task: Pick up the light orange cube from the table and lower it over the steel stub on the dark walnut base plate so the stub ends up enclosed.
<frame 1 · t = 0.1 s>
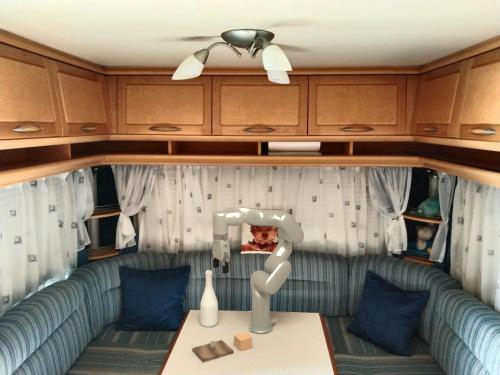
hand: (220, 270, 220), 37 cm above the table, tool pointing down, fingers open, 9 cm apart
wine bottle: (209, 324, 243), on the table
base plate: (212, 352, 214), on the table
light orange cube: (242, 346, 219), on the table
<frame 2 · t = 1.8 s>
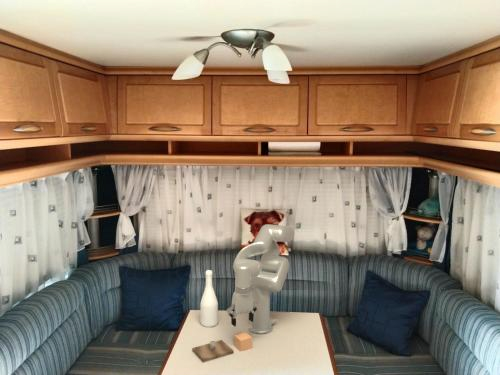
hand: (242, 323, 216), 13 cm above the table, tool pointing down, fingers open, 9 cm apart
nothing on the table moved.
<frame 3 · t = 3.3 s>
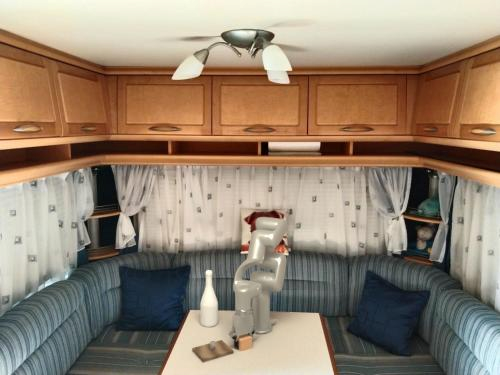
hand: (242, 345, 219), 1 cm above the table, tool pointing down, fingers closed on light orange cube, 6 cm apart
light orange cube: (242, 346, 219), on the table, touching gripper
everything else where it was.
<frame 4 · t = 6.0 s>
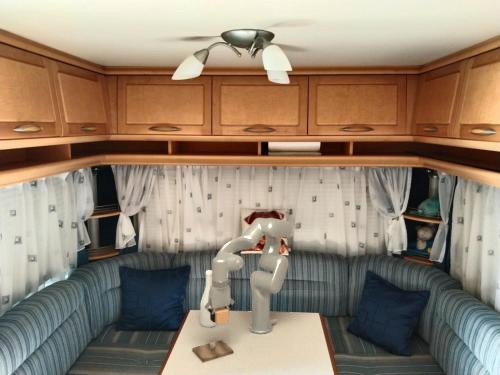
hand: (219, 319, 212), 16 cm above the table, tool pointing down, fingers closed on light orange cube, 6 cm apart
light orange cube: (219, 320, 212), point 16 cm above the table, touching gripper
everything else where it was.
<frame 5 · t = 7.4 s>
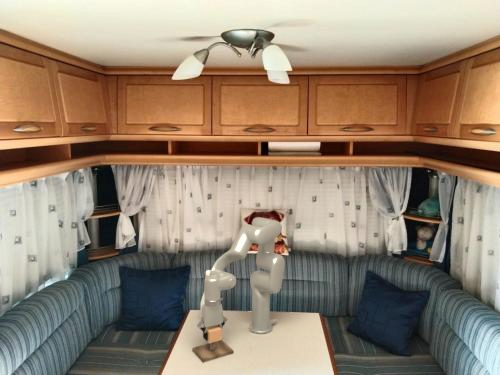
hand: (212, 337, 212), 8 cm above the table, tool pointing down, fingers closed on light orange cube, 6 cm apart
light orange cube: (212, 338, 212), point 7 cm above the table, touching gripper
everything else where it was.
when the fingers open (3 cm above the table, at t = 8.7 s): light orange cube drops 1 cm, resting on base plate.
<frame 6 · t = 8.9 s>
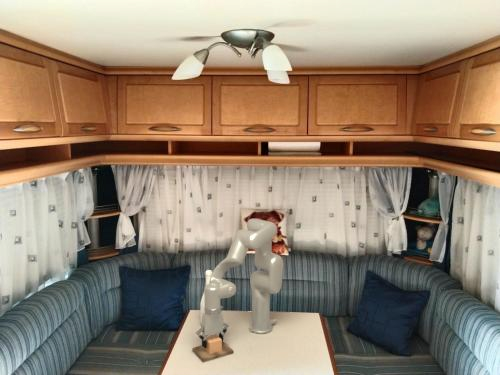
hand: (212, 344, 213), 4 cm above the table, tool pointing down, fingers open, 8 cm apart
light orange cube: (212, 349, 213), point 1 cm above the table, touching base plate
everything else where it was.
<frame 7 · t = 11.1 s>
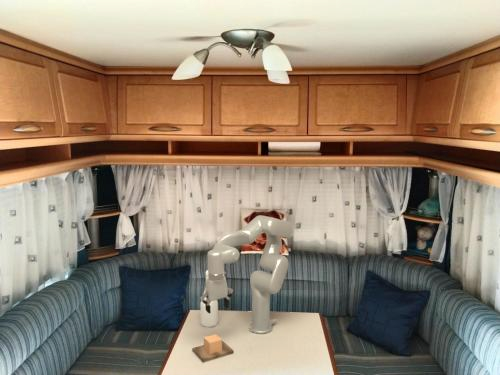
hand: (217, 309, 213), 20 cm above the table, tool pointing down, fingers open, 9 cm apart
nothing on the table moved.
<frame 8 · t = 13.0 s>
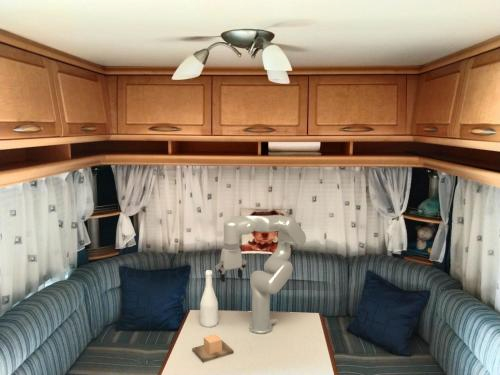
hand: (231, 279, 220), 32 cm above the table, tool pointing down, fingers open, 9 cm apart
nothing on the table moved.
at the end: light orange cube 0.0 cm off-centre on the base plate, point 1.5 cm above the base plate's base; light orange cube tilted 0°; the gripper is holding nothing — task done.
